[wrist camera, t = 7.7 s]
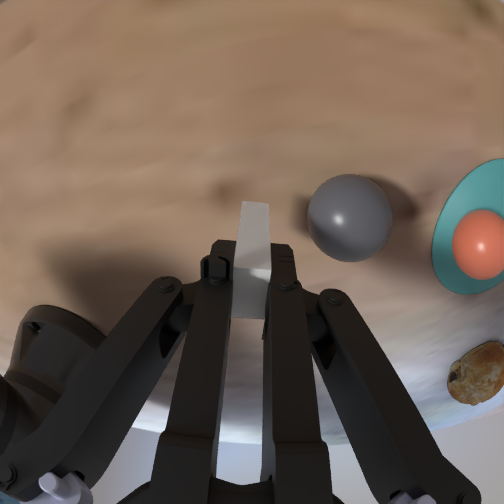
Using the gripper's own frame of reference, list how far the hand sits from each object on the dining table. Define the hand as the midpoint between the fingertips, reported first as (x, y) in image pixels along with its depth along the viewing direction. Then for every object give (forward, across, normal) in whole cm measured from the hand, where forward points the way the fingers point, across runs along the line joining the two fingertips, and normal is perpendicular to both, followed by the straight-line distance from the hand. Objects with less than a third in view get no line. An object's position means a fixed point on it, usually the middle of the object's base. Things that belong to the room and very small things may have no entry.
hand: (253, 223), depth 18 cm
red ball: (+1, -18, 0) cm, 18 cm away
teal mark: (+3, -22, 0) cm, 22 cm away
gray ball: (+1, -6, -1) cm, 6 cm away
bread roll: (+4, -32, +19) cm, 38 cm away
